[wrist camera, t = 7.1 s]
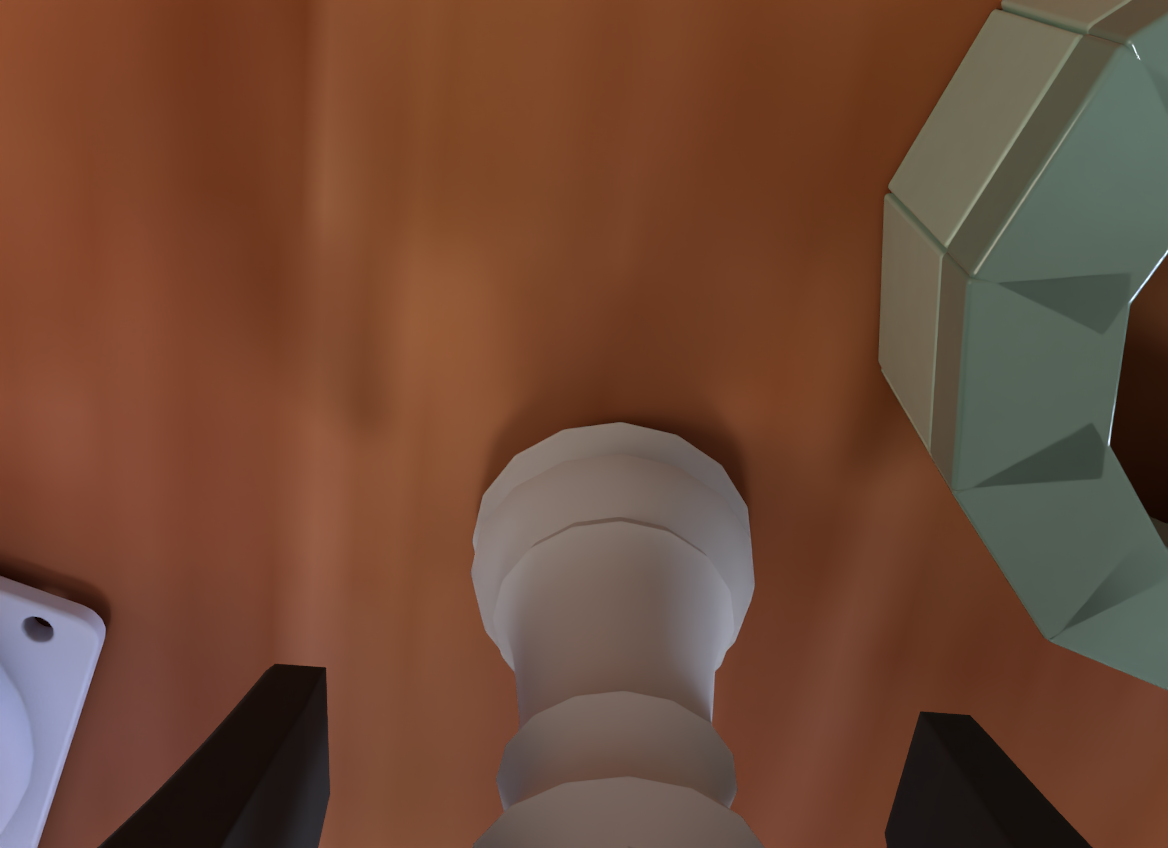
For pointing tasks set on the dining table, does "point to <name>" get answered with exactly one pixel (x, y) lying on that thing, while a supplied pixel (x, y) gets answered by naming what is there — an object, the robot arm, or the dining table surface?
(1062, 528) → the ring
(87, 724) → the dining table surface
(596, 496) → the rook chess piece
